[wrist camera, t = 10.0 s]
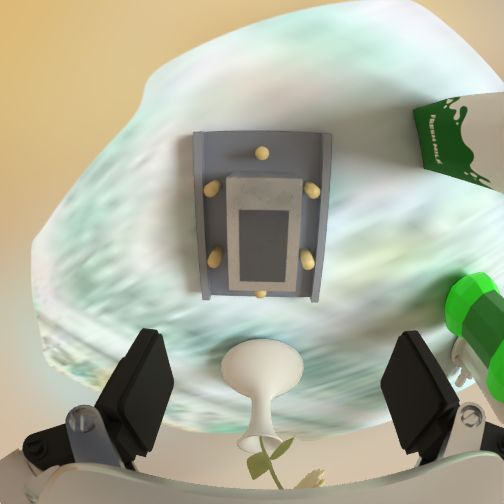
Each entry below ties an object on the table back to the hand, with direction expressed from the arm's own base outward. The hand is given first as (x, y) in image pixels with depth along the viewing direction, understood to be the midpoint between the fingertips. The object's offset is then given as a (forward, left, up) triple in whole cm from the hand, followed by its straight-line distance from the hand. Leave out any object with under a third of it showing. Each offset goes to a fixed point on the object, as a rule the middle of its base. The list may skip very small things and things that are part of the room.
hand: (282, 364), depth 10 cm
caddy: (0, +1, -21) cm, 21 cm away
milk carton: (+11, -20, -21) cm, 31 cm away
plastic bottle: (-10, -29, -21) cm, 37 cm away
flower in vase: (-20, 0, -21) cm, 29 cm away
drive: (0, +1, -20) cm, 20 cm away
